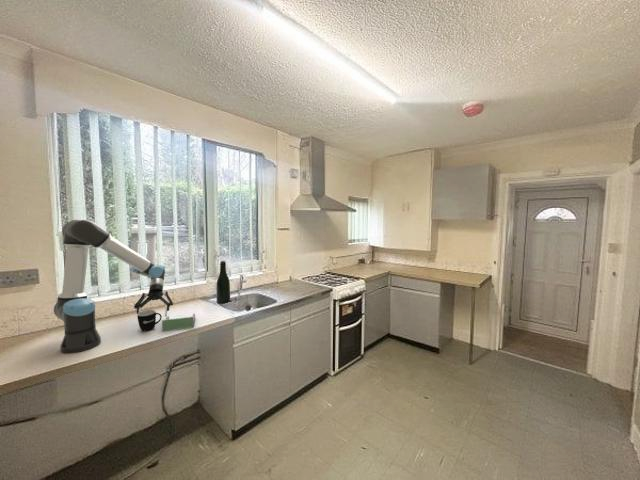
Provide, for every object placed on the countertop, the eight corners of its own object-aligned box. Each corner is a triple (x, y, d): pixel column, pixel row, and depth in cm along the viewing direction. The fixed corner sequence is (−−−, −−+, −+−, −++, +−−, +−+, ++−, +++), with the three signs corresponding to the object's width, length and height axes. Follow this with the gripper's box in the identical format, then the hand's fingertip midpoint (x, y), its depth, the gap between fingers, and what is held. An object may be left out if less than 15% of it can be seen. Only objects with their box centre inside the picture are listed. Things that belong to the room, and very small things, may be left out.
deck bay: (162, 331, 152) (162, 320, 152) (166, 321, 167) (166, 312, 166) (193, 327, 158) (193, 317, 158) (195, 318, 173) (194, 309, 173)
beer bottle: (228, 298, 217) (228, 259, 215) (231, 302, 209) (231, 261, 207) (215, 300, 212) (214, 260, 210) (218, 304, 203) (217, 262, 201)
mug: (141, 334, 148) (139, 317, 147) (136, 329, 154) (135, 312, 153) (164, 327, 157) (163, 311, 155) (159, 322, 163) (158, 307, 161)
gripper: (178, 288, 176) (176, 317, 164) (134, 291, 167) (128, 322, 154) (177, 282, 171) (175, 311, 158) (132, 285, 161) (125, 316, 149)
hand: (152, 317), depth 156 cm, fingers open, 13 cm apart
